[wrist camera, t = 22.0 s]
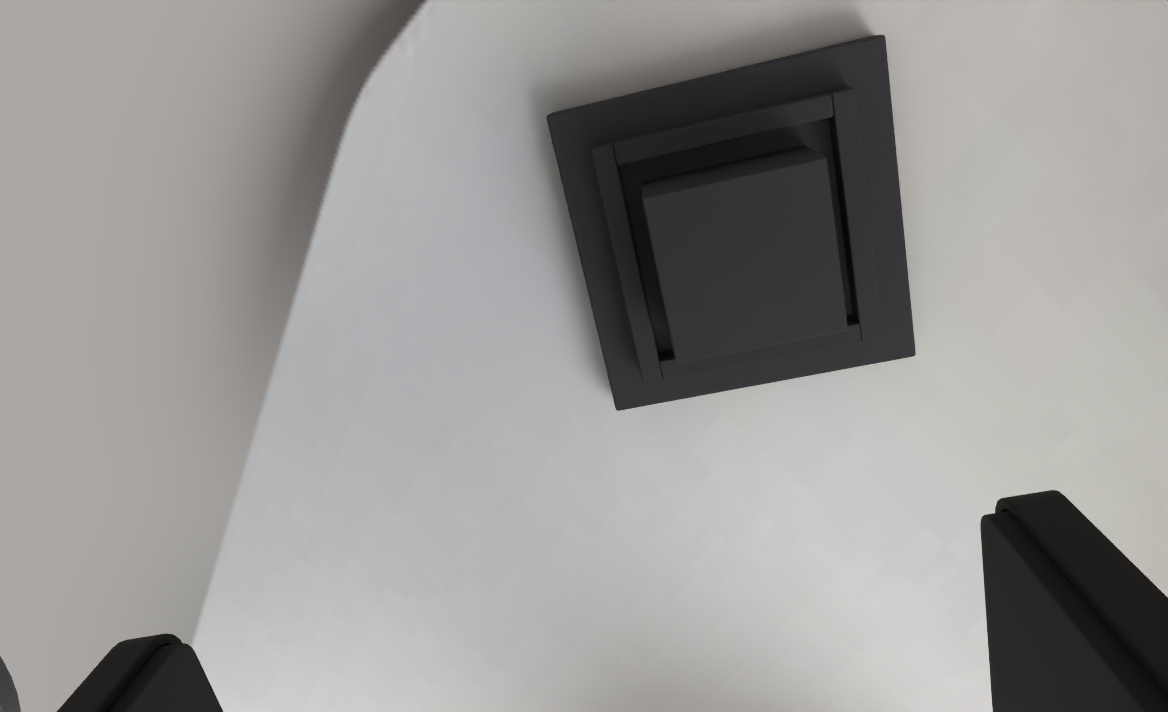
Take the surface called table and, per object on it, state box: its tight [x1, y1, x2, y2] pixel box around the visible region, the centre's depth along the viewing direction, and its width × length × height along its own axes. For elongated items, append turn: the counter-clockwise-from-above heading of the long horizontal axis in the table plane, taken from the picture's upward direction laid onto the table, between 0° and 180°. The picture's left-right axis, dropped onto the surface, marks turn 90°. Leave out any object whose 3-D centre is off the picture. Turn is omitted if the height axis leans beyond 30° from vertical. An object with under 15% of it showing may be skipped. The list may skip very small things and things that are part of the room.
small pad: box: [642, 146, 848, 363], centre depth 28 cm, size 6×6×4 cm
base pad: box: [547, 35, 916, 411], centre depth 30 cm, size 12×12×2 cm
